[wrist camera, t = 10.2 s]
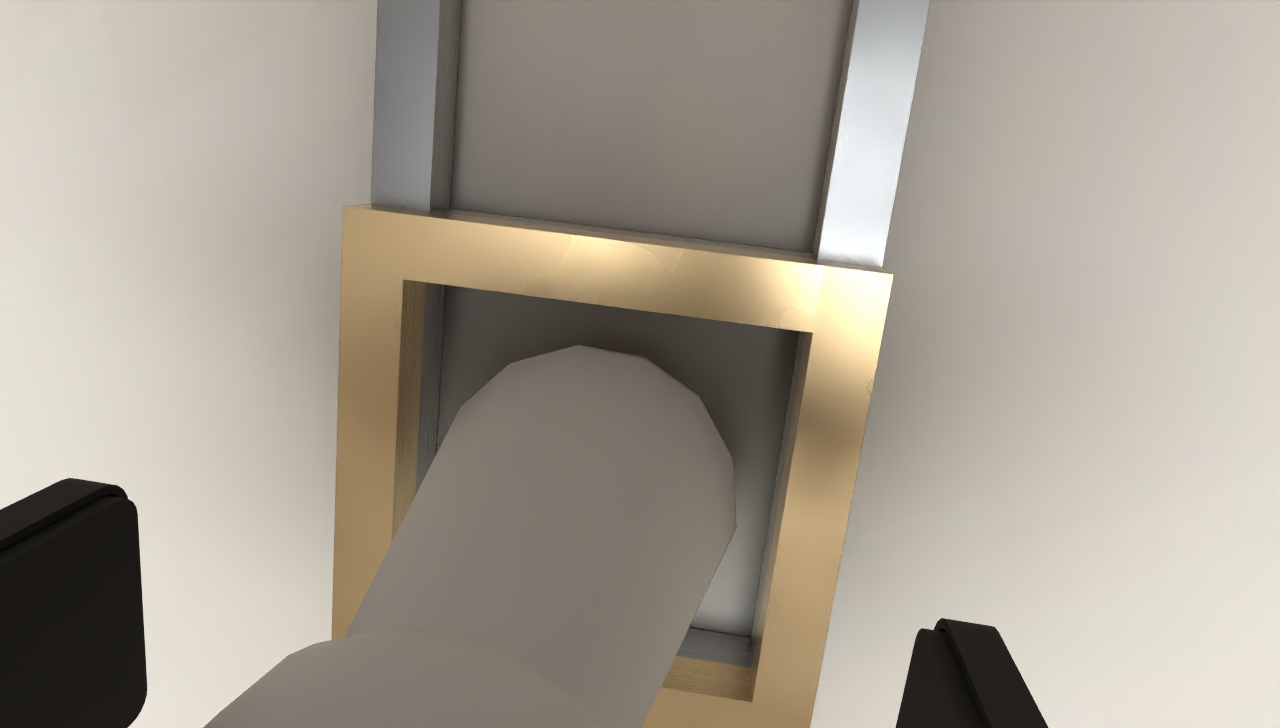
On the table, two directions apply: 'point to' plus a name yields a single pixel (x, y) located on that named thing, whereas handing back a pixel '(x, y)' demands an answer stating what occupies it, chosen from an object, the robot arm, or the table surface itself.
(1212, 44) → the table surface
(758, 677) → the gold rectangular frame
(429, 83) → the grey rectangular frame
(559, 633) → the salt shaker
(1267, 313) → the table surface
